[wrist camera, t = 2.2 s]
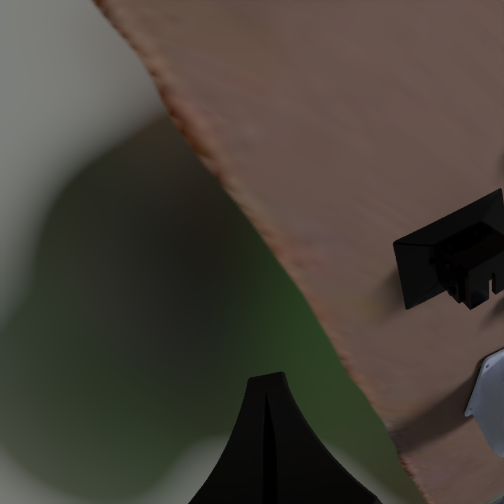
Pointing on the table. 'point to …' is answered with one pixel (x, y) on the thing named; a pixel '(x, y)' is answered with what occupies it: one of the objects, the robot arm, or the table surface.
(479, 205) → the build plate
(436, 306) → the table surface
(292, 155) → the table surface
